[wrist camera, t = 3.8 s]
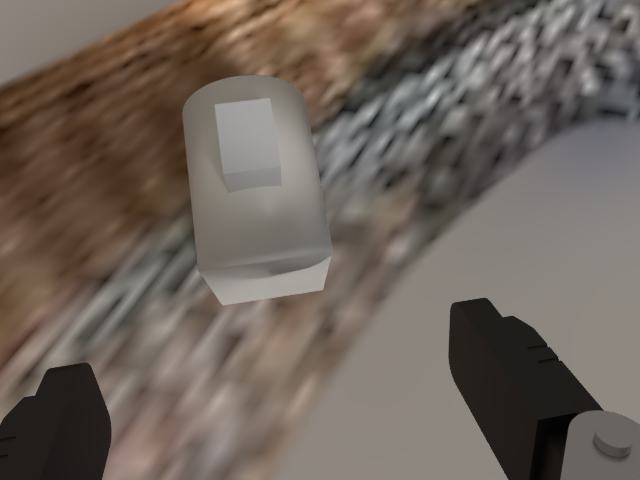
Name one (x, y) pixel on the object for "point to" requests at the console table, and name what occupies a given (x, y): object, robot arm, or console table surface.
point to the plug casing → (255, 190)
